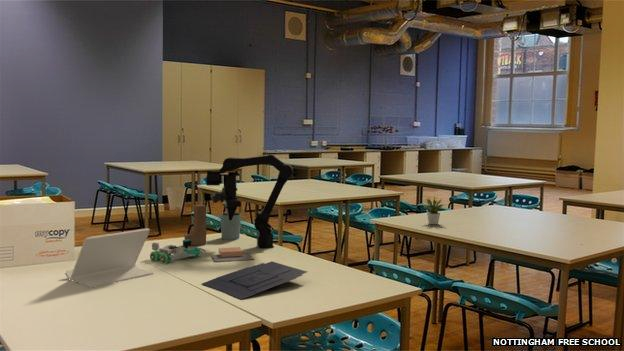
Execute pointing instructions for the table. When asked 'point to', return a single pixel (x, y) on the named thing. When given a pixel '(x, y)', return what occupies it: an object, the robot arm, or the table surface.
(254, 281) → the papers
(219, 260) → the mat
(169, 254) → the robot kit
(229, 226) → the drinking glass
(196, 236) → the wooden block
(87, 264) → the tablet stand
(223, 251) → the tile
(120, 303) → the table surface
